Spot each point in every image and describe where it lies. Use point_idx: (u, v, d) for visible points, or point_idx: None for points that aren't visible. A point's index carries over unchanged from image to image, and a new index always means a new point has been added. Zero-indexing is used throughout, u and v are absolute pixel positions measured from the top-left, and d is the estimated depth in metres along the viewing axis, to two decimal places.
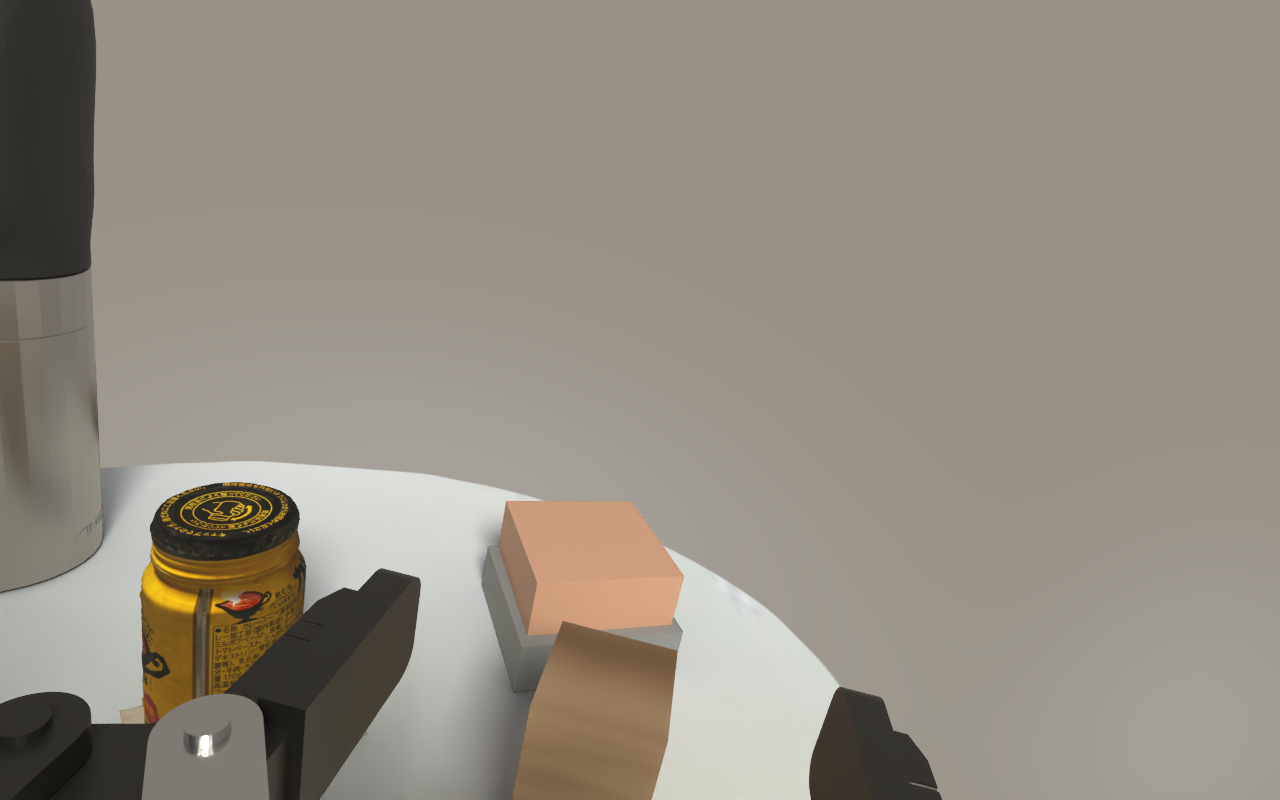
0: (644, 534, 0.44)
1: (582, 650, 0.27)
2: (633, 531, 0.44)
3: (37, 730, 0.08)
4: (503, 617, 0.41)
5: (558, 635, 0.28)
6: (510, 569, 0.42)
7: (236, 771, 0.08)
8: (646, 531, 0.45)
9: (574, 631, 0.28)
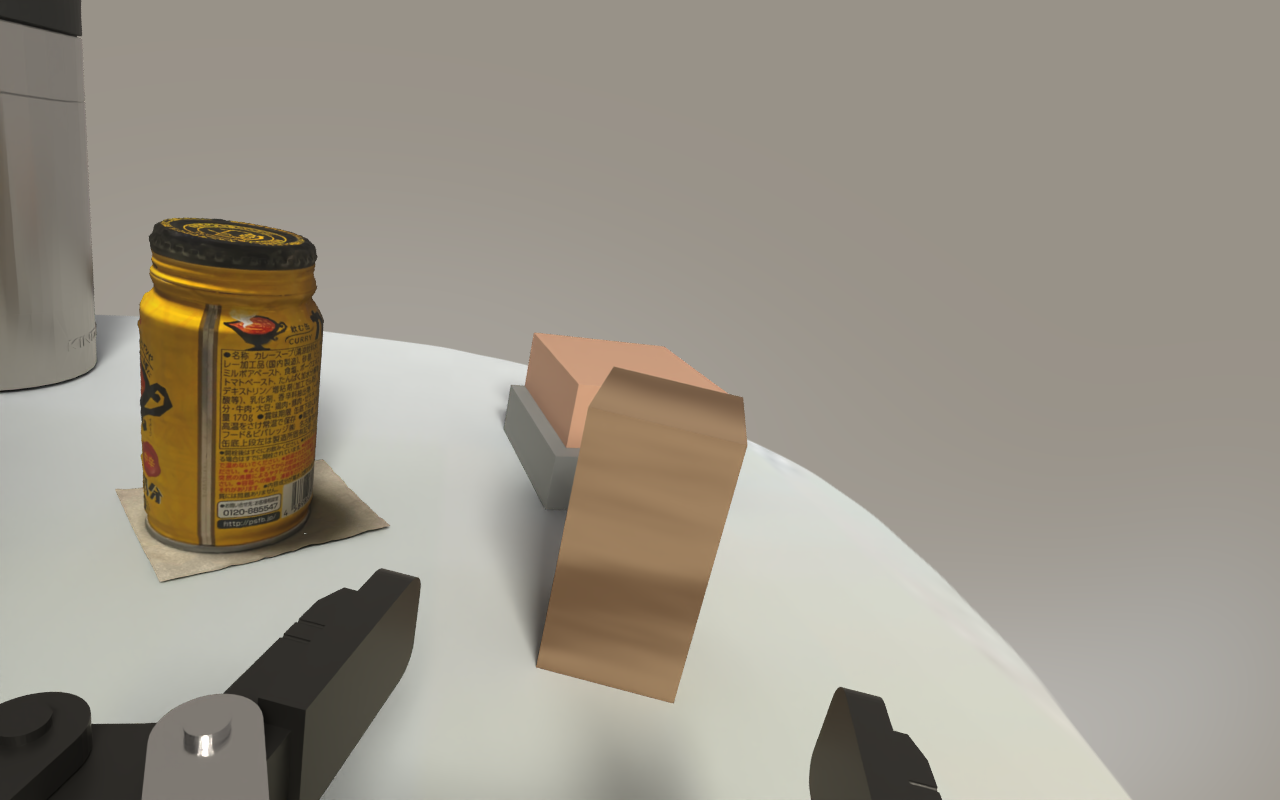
0: (682, 367, 0.41)
1: (639, 384, 0.24)
2: (671, 364, 0.41)
3: (37, 730, 0.08)
4: (531, 442, 0.37)
5: (610, 373, 0.25)
6: (541, 397, 0.39)
7: (236, 771, 0.08)
8: (684, 365, 0.42)
9: (627, 373, 0.25)
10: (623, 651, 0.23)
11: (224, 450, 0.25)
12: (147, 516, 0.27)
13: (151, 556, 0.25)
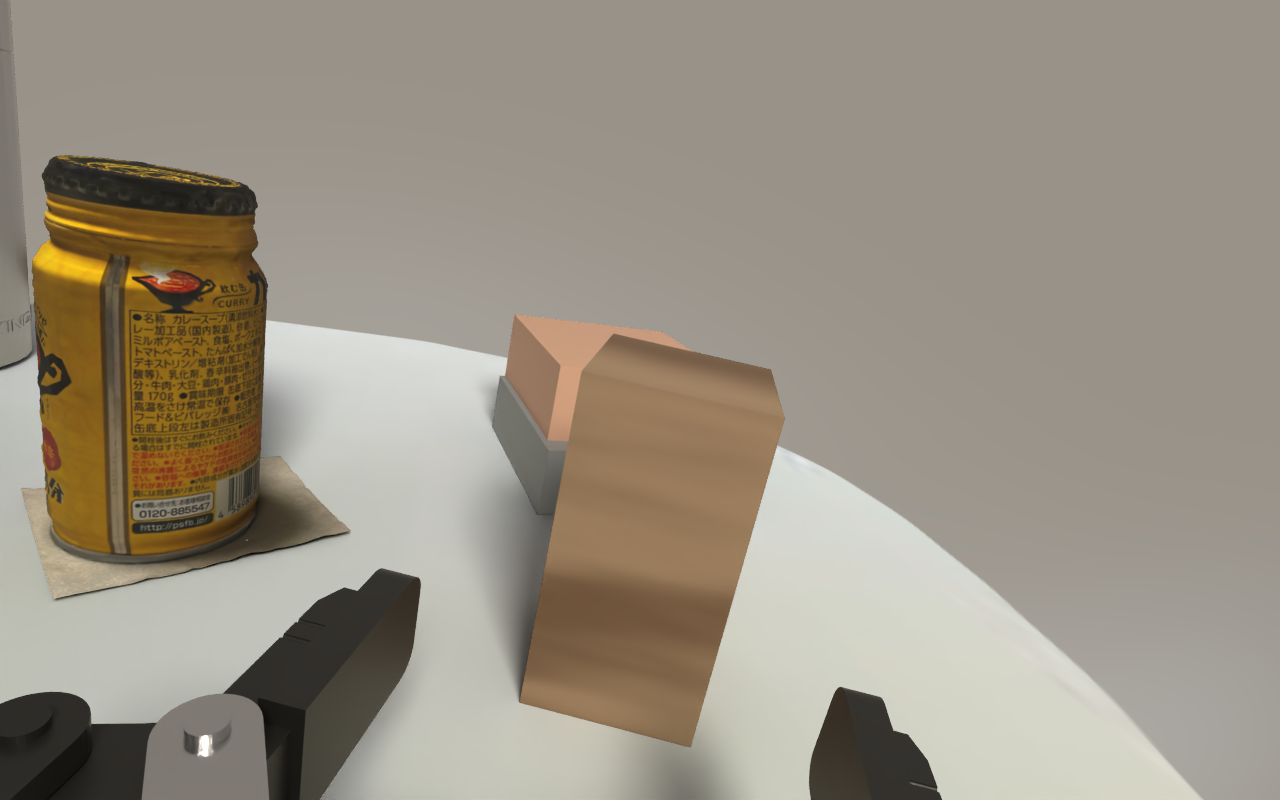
0: None
1: (645, 352, 0.20)
2: None
3: (37, 730, 0.08)
4: (521, 437, 0.33)
5: (610, 339, 0.20)
6: (521, 385, 0.34)
7: (236, 771, 0.08)
8: None
9: (630, 341, 0.21)
10: (628, 682, 0.19)
11: (137, 436, 0.20)
12: (53, 520, 0.22)
13: (48, 567, 0.20)
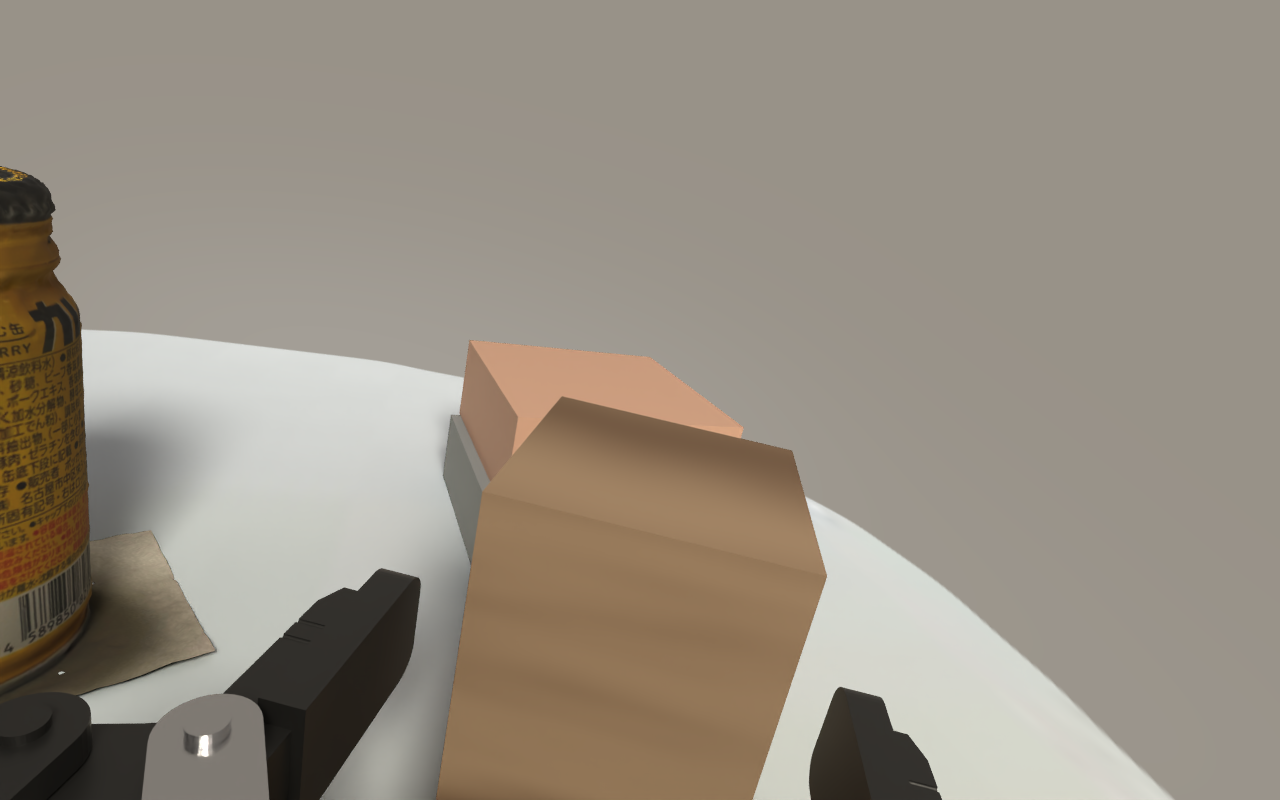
0: (674, 385, 0.30)
1: (603, 431, 0.13)
2: (659, 381, 0.30)
3: (37, 730, 0.08)
4: (470, 500, 0.26)
5: (553, 410, 0.14)
6: (476, 430, 0.28)
7: (236, 771, 0.08)
8: (676, 383, 0.30)
9: (585, 409, 0.14)
10: None
11: None
12: None
13: None
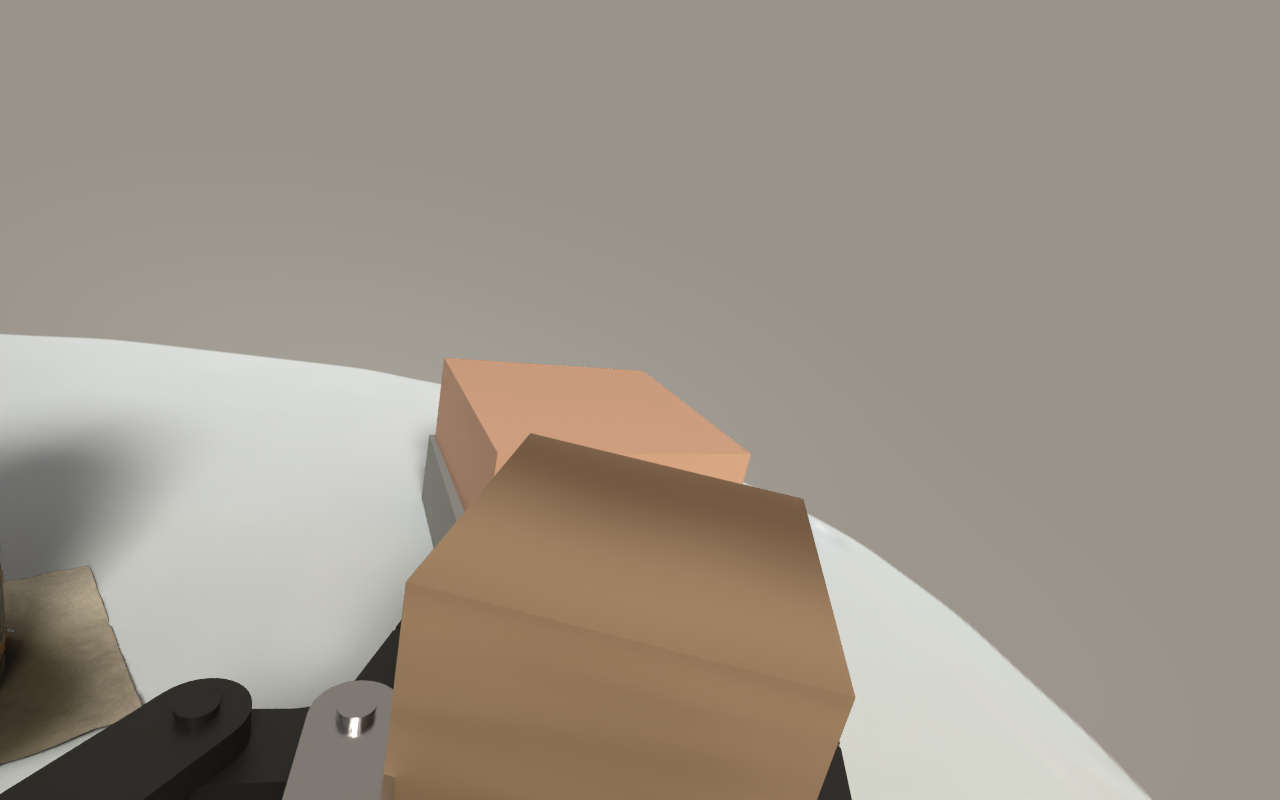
0: (672, 404, 0.27)
1: (576, 481, 0.11)
2: (654, 400, 0.27)
3: (209, 713, 0.08)
4: None
5: (517, 453, 0.11)
6: (452, 460, 0.25)
7: None
8: (674, 401, 0.28)
9: (557, 450, 0.12)
10: None
11: None
12: None
13: None
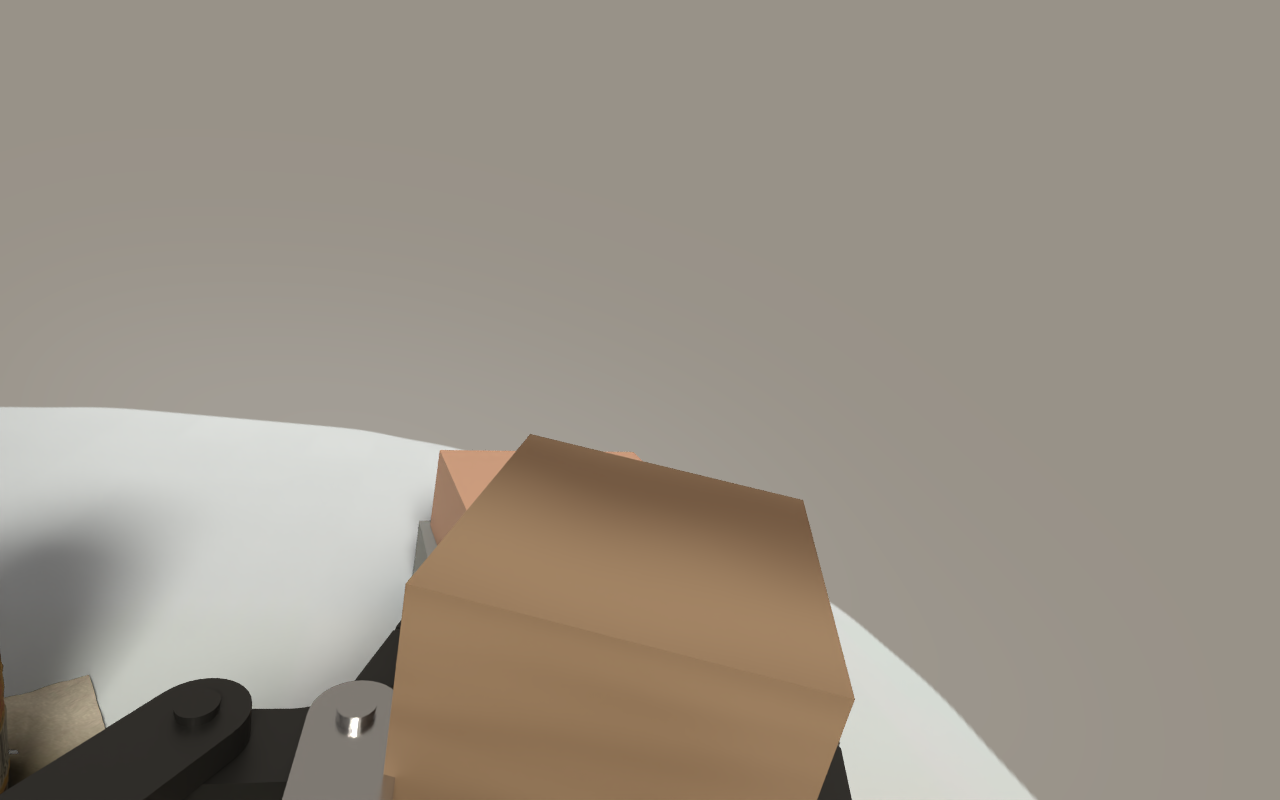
0: None
1: (576, 483, 0.11)
2: None
3: (210, 713, 0.08)
4: None
5: (517, 454, 0.11)
6: None
7: None
8: None
9: (557, 452, 0.12)
10: None
11: None
12: None
13: None
